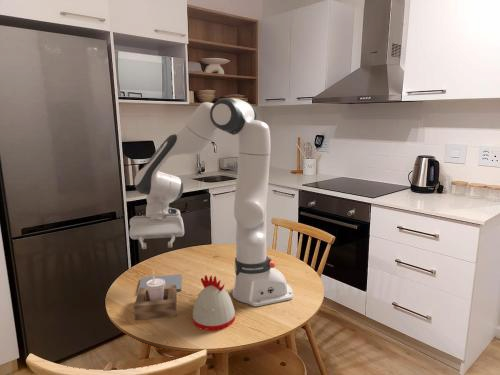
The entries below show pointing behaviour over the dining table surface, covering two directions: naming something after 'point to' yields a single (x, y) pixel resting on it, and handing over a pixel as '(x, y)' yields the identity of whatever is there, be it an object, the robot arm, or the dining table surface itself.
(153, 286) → the smoothie
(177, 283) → the rubber mat
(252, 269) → the robot arm
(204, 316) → the kitchen timer
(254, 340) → the dining table surface
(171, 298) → the holder collar
